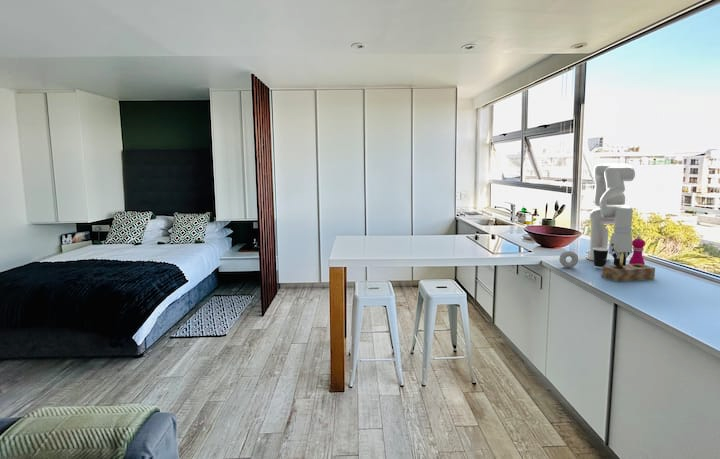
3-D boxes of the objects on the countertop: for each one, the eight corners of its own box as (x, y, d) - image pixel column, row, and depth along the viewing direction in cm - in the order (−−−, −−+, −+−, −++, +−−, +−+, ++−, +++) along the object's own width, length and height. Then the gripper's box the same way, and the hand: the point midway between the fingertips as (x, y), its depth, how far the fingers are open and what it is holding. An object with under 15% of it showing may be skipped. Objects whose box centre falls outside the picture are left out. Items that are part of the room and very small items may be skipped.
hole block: (616, 281, 212) (617, 270, 211) (602, 276, 222) (602, 265, 221) (654, 279, 216) (655, 267, 215) (638, 274, 225) (639, 263, 224)
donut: (576, 267, 242) (578, 250, 241) (578, 268, 239) (579, 251, 237) (558, 266, 245) (559, 249, 243) (559, 267, 241) (560, 251, 240)
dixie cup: (608, 269, 235) (609, 250, 233) (592, 268, 238) (593, 249, 237) (606, 266, 242) (607, 247, 241) (590, 265, 246) (592, 247, 244)
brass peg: (614, 269, 218) (615, 250, 217) (619, 269, 219) (621, 250, 217) (618, 270, 216) (620, 252, 214) (623, 270, 216) (625, 251, 214)
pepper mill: (646, 273, 226) (649, 237, 223) (631, 272, 228) (634, 237, 225) (640, 269, 233) (643, 234, 230) (626, 269, 235) (629, 234, 232)
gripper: (630, 228, 219) (627, 262, 222) (602, 230, 216) (600, 264, 219) (642, 231, 211) (639, 266, 214) (613, 232, 209) (610, 268, 212)
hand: (619, 265), depth 217 cm, fingers closed on brass peg, 3 cm apart
